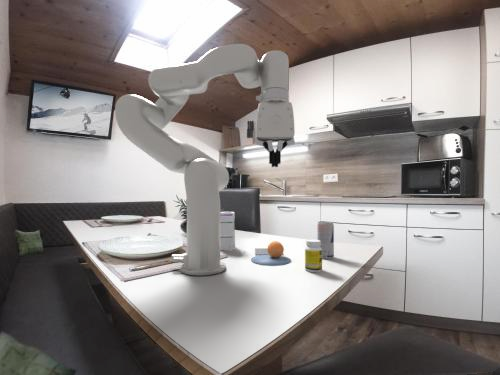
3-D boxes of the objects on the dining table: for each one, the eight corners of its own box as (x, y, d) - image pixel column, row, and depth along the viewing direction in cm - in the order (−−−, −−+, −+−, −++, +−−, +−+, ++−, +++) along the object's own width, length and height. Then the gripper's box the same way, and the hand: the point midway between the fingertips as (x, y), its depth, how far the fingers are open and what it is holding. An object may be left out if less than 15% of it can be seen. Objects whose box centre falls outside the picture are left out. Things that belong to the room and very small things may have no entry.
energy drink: (335, 256, 90) (335, 222, 90) (331, 260, 85) (331, 223, 85) (320, 254, 92) (320, 221, 93) (315, 257, 88) (315, 222, 88)
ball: (268, 245, 92) (268, 260, 89) (266, 238, 88) (266, 254, 85) (283, 245, 92) (284, 260, 88) (283, 238, 87) (283, 254, 84)
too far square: (255, 254, 92) (255, 254, 92) (255, 248, 102) (255, 248, 102) (283, 255, 92) (283, 254, 92) (280, 249, 102) (280, 248, 102)
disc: (250, 265, 79) (250, 264, 79) (251, 255, 92) (251, 254, 92) (293, 265, 78) (293, 264, 78) (288, 255, 91) (288, 254, 91)
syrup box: (234, 250, 99) (234, 212, 100) (218, 250, 99) (218, 212, 100) (235, 247, 105) (235, 211, 105) (220, 247, 105) (220, 211, 105)
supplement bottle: (322, 273, 71) (322, 242, 71) (305, 272, 72) (305, 241, 72) (321, 268, 76) (321, 239, 76) (304, 267, 77) (304, 238, 77)
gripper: (247, 94, 67) (247, 165, 67) (305, 94, 67) (305, 165, 67) (247, 104, 75) (247, 168, 74) (299, 104, 75) (299, 168, 74)
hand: (274, 166), depth 71 cm, fingers closed
